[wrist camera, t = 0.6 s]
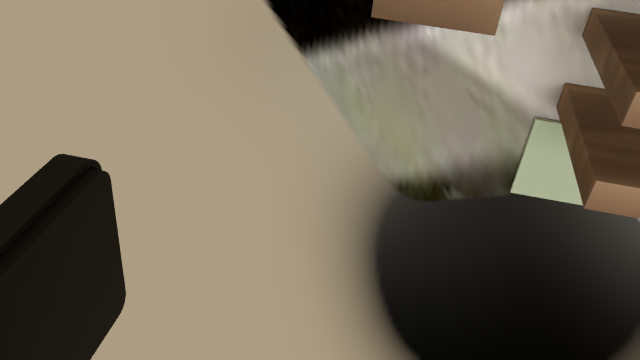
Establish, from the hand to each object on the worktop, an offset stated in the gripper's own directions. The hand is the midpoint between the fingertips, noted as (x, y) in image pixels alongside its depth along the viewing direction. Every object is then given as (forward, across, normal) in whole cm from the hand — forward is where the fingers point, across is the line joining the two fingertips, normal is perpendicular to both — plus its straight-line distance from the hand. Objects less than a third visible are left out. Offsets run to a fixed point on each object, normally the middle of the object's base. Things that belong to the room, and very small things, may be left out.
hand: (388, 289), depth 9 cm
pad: (+27, -11, +12) cm, 32 cm away
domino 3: (+27, -11, +8) cm, 30 cm away
